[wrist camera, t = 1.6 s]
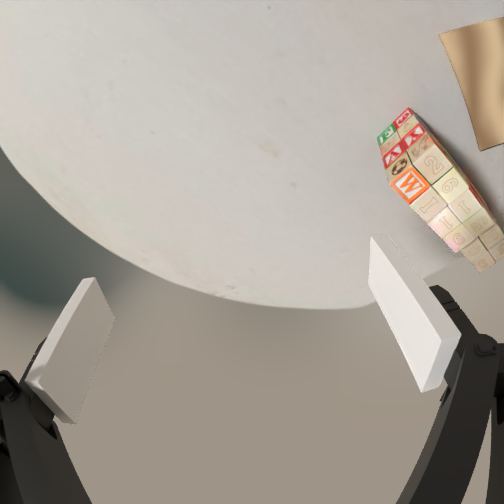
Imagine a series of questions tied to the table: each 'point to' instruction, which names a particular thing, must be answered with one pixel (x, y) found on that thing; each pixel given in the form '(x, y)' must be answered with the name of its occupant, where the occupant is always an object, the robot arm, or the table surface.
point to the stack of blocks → (440, 191)
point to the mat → (480, 76)
